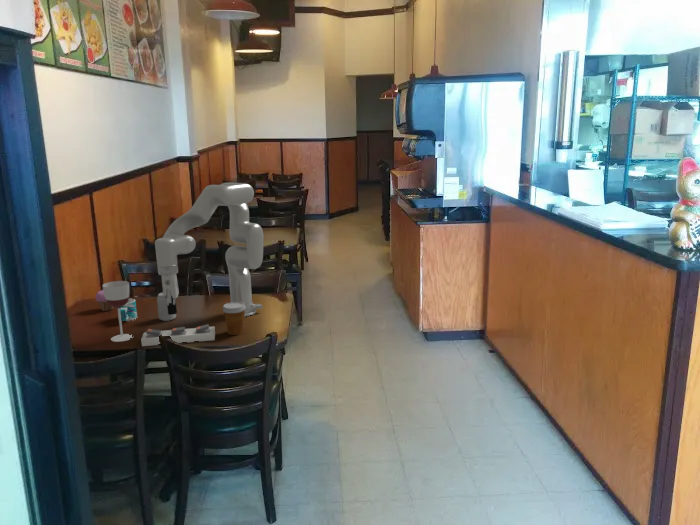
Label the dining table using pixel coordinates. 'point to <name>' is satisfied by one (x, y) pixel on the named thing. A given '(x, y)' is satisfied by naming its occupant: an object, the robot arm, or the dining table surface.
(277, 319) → the dining table surface
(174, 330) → the rocker middle
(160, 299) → the can
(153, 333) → the rocker
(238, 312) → the disposable coffee cup
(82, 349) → the dining table surface
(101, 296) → the cupcake
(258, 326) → the dining table surface
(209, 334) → the power strip
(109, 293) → the wineglass
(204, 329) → the rocker
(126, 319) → the mug
